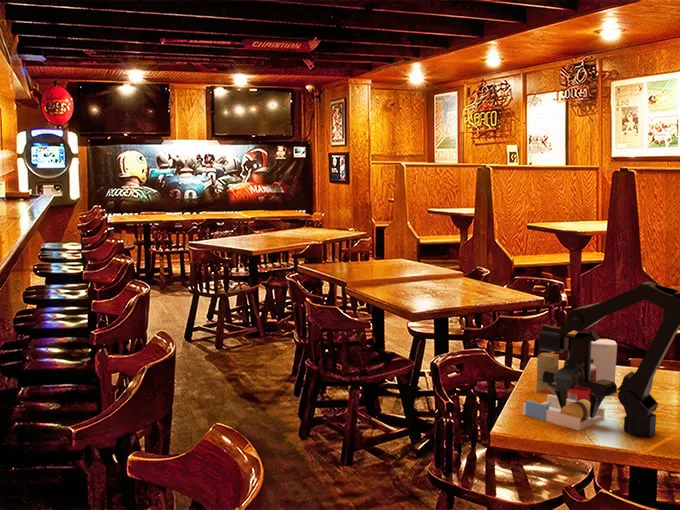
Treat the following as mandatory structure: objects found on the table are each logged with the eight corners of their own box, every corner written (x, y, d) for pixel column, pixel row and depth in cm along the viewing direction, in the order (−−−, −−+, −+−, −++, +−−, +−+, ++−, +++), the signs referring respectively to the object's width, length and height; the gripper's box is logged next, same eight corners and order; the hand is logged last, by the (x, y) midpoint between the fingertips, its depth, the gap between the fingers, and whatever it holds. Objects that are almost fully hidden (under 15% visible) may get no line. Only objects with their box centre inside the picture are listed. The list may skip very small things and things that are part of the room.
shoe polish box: (536, 395, 227) (537, 355, 225) (541, 391, 231) (542, 352, 229) (553, 398, 224) (554, 357, 223) (557, 393, 228) (558, 354, 227)
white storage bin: (603, 423, 202) (604, 404, 202) (578, 434, 194) (579, 415, 193) (548, 408, 215) (549, 390, 214) (522, 418, 206) (522, 399, 206)
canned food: (596, 408, 215) (598, 369, 213) (566, 406, 216) (568, 368, 215) (593, 399, 222) (594, 362, 221) (564, 398, 224) (565, 361, 223)
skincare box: (585, 394, 228) (587, 342, 226) (584, 387, 234) (585, 337, 232) (615, 396, 226) (617, 344, 224) (613, 389, 232) (615, 339, 230)
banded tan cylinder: (576, 415, 206) (576, 397, 205) (593, 419, 202) (593, 401, 201) (560, 422, 200) (560, 403, 200) (577, 426, 197) (577, 407, 196)
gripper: (530, 354, 201) (529, 412, 202) (595, 368, 187) (593, 430, 189) (554, 347, 208) (552, 403, 210) (619, 360, 194) (616, 420, 196)
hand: (577, 413), depth 201 cm, fingers open, 8 cm apart
